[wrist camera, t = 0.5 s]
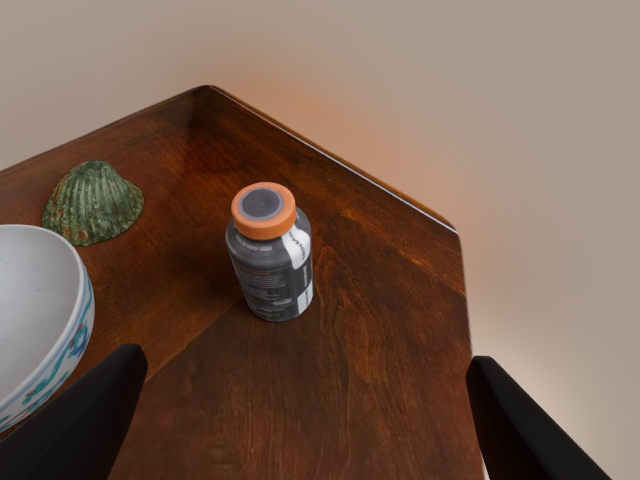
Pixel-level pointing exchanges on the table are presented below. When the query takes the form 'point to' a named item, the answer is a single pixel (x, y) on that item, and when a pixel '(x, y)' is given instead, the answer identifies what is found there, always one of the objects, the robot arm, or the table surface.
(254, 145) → the table surface
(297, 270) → the pill bottle
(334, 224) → the table surface
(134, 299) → the table surface
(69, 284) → the chinaware
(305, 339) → the table surface
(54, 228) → the seashell
